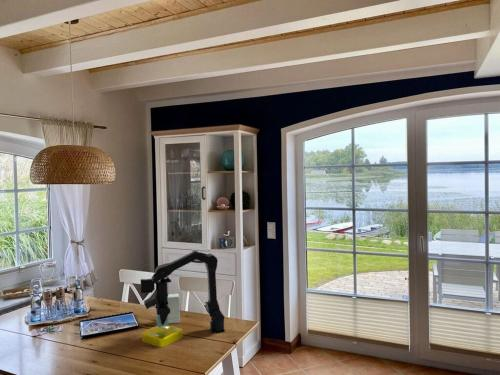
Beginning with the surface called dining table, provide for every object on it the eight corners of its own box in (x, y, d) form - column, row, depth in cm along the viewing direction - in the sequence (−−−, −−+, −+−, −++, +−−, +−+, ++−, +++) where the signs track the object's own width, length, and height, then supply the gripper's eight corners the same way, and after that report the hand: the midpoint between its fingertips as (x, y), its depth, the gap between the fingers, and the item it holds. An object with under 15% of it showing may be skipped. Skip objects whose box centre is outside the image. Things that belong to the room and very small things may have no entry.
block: (166, 322, 191) (166, 312, 191) (167, 325, 186) (167, 315, 186) (156, 323, 189) (156, 313, 189) (157, 327, 184) (157, 317, 184)
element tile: (140, 341, 185) (140, 331, 185) (162, 330, 197) (162, 321, 197) (161, 348, 177) (161, 338, 177) (184, 337, 189) (183, 327, 189)
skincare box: (179, 319, 213) (179, 292, 212) (180, 323, 207) (179, 296, 206) (164, 320, 211) (164, 294, 211) (164, 324, 205) (163, 297, 205)
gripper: (144, 288, 194) (144, 318, 194) (145, 298, 176) (146, 332, 176) (166, 285, 197) (166, 315, 197) (170, 296, 179) (170, 328, 180)
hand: (162, 322), depth 188 cm, fingers closed on block, 5 cm apart
